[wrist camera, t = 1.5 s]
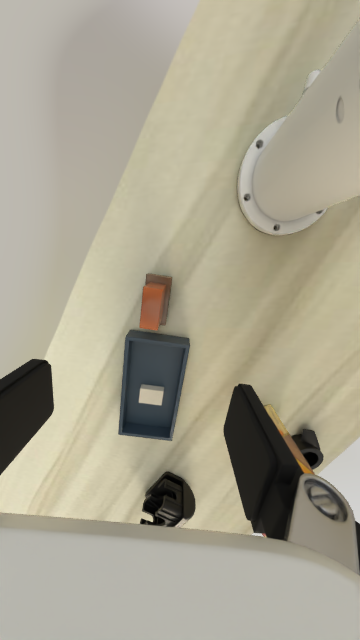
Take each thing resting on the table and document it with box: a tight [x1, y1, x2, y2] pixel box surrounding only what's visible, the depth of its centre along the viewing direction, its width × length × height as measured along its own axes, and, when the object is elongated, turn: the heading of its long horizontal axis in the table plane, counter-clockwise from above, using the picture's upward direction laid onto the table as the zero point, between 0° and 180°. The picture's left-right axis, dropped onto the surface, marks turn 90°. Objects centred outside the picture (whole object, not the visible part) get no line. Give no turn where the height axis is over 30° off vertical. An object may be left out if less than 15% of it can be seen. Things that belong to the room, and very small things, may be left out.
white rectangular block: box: [139, 384, 164, 405], centre depth 32 cm, size 3×4×1 cm
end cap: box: [140, 472, 195, 528], centre depth 38 cm, size 10×7×7 cm
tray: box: [118, 330, 190, 441], centre depth 32 cm, size 19×10×3 cm, turn 171°
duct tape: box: [291, 429, 323, 470], centre depth 36 cm, size 8×10×3 cm
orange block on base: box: [140, 273, 172, 330], centre depth 25 cm, size 7×4×7 cm, turn 171°
